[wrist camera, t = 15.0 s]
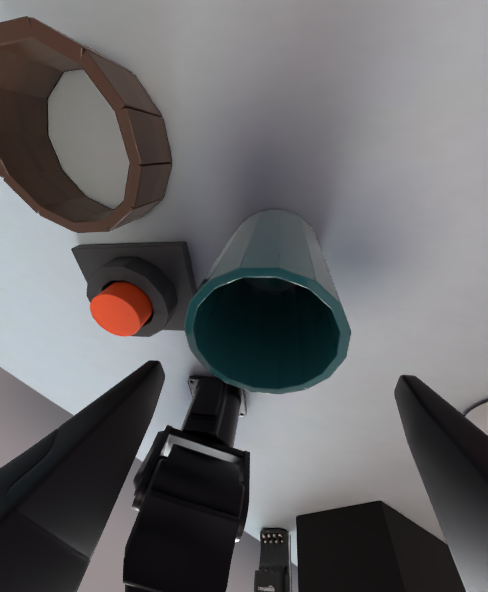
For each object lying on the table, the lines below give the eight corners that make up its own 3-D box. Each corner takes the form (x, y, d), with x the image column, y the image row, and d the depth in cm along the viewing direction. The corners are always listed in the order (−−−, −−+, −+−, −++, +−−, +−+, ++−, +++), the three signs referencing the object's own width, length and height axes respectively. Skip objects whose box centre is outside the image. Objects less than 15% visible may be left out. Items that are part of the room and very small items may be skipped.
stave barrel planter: (183, 214, 18) (159, 229, 14) (76, 220, 19) (32, 234, 16) (147, 38, 13) (97, -2, 9) (8, 66, 14) (-76, 39, 11)
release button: (144, 281, 18) (129, 294, 16) (158, 321, 20) (146, 337, 18) (99, 281, 19) (81, 294, 17) (117, 320, 21) (102, 335, 19)
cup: (315, 292, 19) (338, 399, 11) (235, 291, 20) (200, 388, 12) (322, 206, 16) (364, 266, 7) (225, 211, 17) (167, 268, 9)
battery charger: (282, 526, 49) (282, 617, 39) (292, 533, 50) (293, 623, 41) (255, 527, 52) (249, 612, 42) (265, 533, 53) (260, 617, 43)
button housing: (186, 241, 19) (171, 255, 16) (204, 325, 23) (194, 345, 21) (79, 244, 20) (50, 257, 18) (114, 322, 25) (95, 341, 22)
